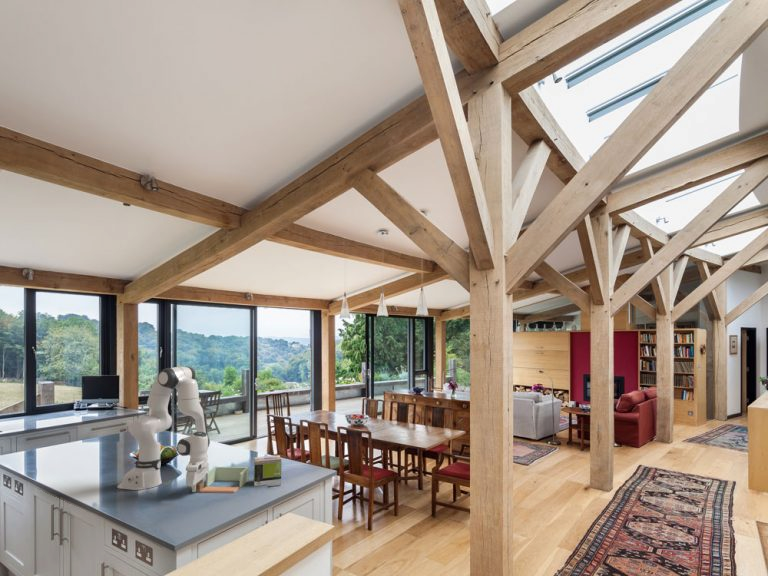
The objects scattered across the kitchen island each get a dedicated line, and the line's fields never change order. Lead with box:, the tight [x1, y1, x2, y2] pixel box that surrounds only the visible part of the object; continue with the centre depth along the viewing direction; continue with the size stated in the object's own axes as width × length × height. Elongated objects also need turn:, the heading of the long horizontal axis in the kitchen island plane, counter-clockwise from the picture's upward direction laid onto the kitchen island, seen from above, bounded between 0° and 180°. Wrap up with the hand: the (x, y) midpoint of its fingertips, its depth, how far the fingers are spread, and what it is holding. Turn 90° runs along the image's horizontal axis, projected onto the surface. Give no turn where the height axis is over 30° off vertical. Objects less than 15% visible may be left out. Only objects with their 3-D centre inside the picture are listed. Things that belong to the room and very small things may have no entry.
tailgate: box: [199, 486, 240, 494], centre depth 239 cm, size 19×1×8 cm
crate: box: [205, 466, 250, 488], centre depth 250 cm, size 20×12×8 cm, turn 89°
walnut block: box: [190, 481, 205, 493], centre depth 239 cm, size 5×5×5 cm
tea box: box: [253, 454, 282, 487], centre depth 253 cm, size 15×10×15 cm, turn 108°
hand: (197, 489), depth 239 cm, fingers open, 6 cm apart
